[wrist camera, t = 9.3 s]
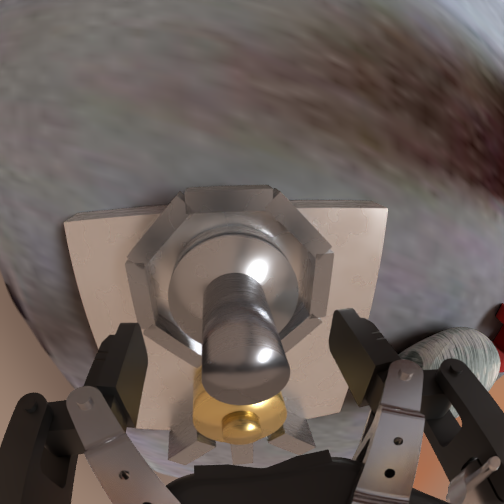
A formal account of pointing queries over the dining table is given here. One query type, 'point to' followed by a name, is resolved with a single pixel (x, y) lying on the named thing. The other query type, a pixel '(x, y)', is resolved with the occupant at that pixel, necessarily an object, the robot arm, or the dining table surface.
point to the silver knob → (236, 311)
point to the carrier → (190, 352)
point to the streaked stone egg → (458, 354)
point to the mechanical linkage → (500, 338)
